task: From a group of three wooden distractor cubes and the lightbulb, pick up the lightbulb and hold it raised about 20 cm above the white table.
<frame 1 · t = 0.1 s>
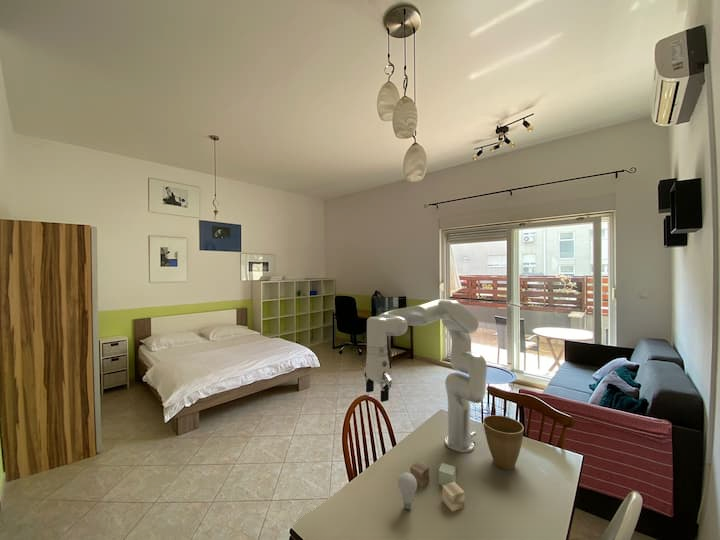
hand: (376, 396, 107), 31 cm above the table, fingers open, 9 cm apart
walnut cube: (419, 480, 107), on the table
beech cube: (453, 503, 96), on the table
sage cube: (447, 482, 106), on the table
plant pot: (503, 463, 117), on the table
lightbulb: (407, 509, 94), on the table
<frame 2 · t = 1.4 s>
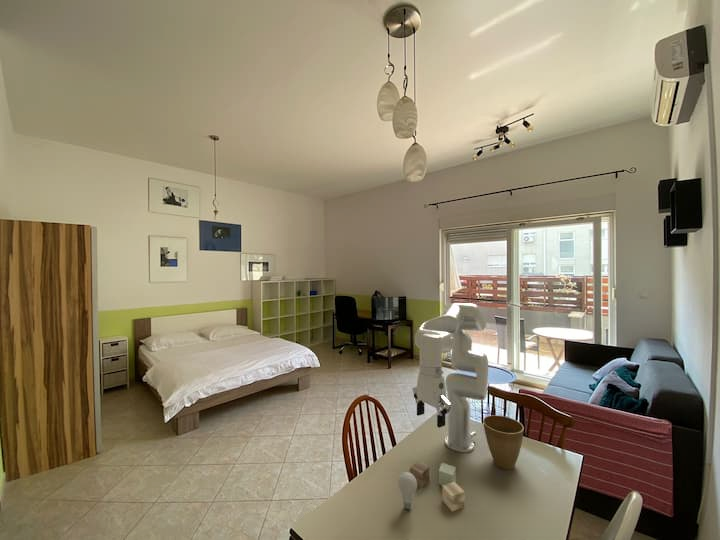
hand: (430, 420, 99), 26 cm above the table, fingers open, 9 cm apart
nothing on the table moved.
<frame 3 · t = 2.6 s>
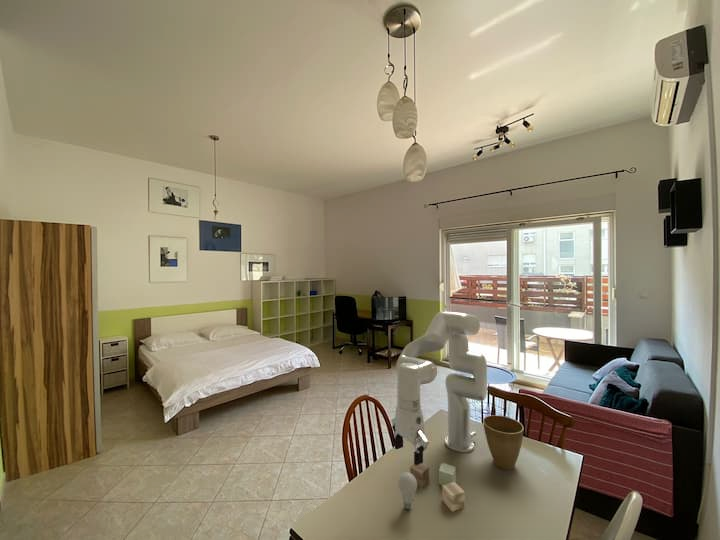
hand: (408, 455, 94), 17 cm above the table, fingers open, 9 cm apart
nothing on the table moved.
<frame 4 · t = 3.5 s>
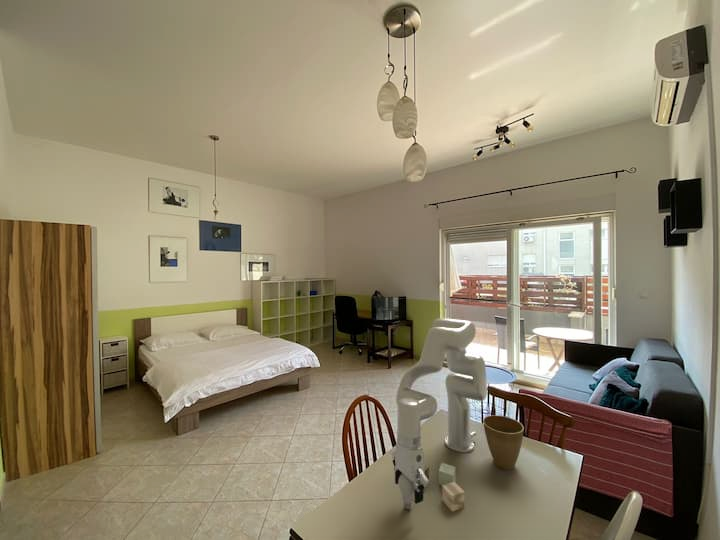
hand: (408, 491, 94), 5 cm above the table, fingers open, 9 cm apart
nothing on the table moved.
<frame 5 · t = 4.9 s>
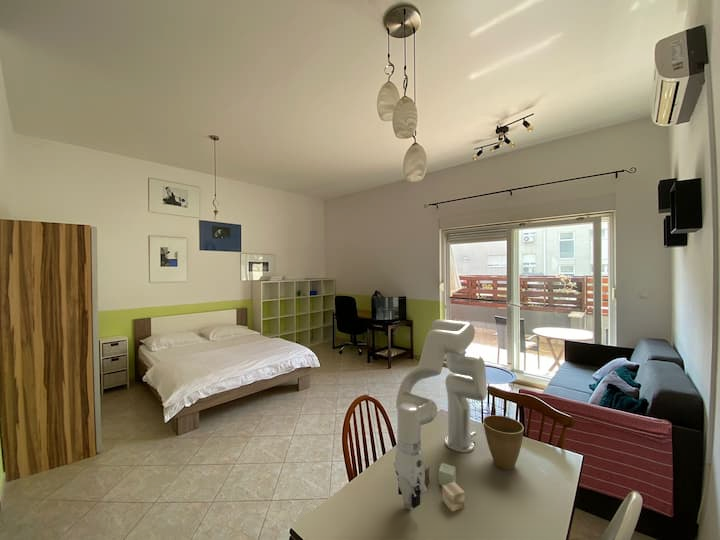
hand: (409, 498, 94), 3 cm above the table, fingers closed on lightbulb, 5 cm apart
lightbulb: (407, 508, 94), on the table, touching gripper
everything else where it was.
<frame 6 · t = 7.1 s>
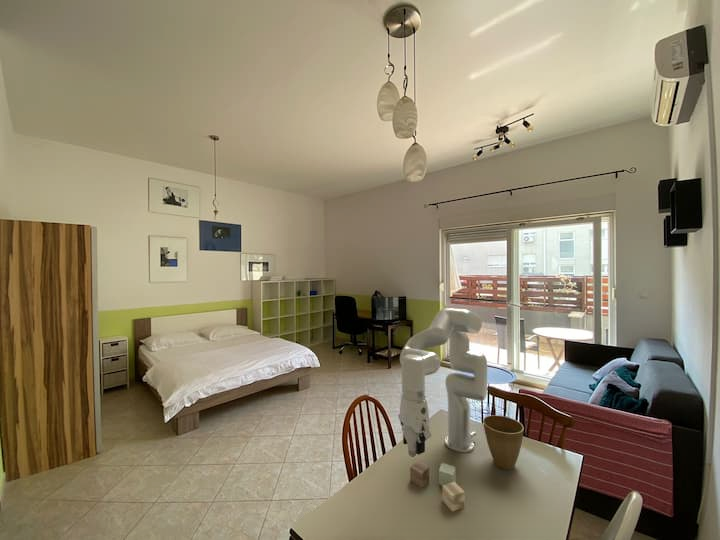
hand: (413, 447, 96), 19 cm above the table, fingers closed on lightbulb, 5 cm apart
lightbulb: (412, 457, 96), point 16 cm above the table, touching gripper
everything else where it was.
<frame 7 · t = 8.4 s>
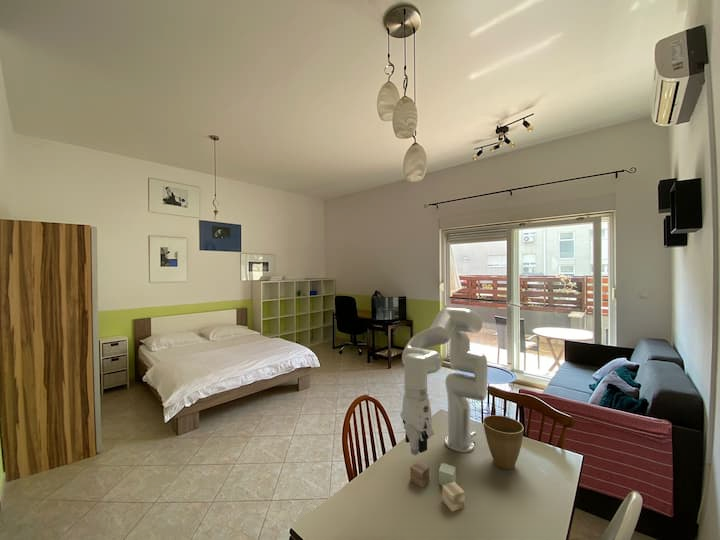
hand: (416, 445, 96), 19 cm above the table, fingers closed on lightbulb, 5 cm apart
lightbulb: (414, 455, 96), point 16 cm above the table, touching gripper
everything else where it was.
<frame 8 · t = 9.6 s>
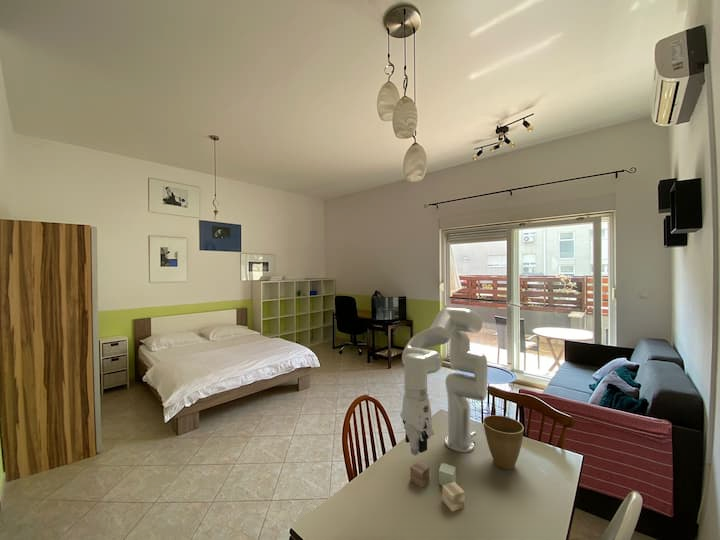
hand: (416, 445, 96), 19 cm above the table, fingers closed on lightbulb, 5 cm apart
lightbulb: (414, 455, 96), point 16 cm above the table, touching gripper
everything else where it was.
at the end: the gripper is holding lightbulb; lightbulb point 16.1 cm above the table; walnut cube moved 0.1 cm from its start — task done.
